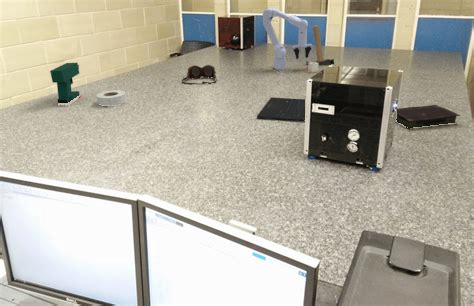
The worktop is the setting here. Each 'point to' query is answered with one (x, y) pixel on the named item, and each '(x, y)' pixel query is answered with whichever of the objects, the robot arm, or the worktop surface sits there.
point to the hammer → (320, 49)
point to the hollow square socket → (313, 67)
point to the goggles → (200, 73)
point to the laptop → (283, 109)
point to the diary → (425, 116)
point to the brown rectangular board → (306, 70)
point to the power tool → (65, 81)
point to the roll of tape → (111, 97)
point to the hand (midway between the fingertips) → (301, 58)
